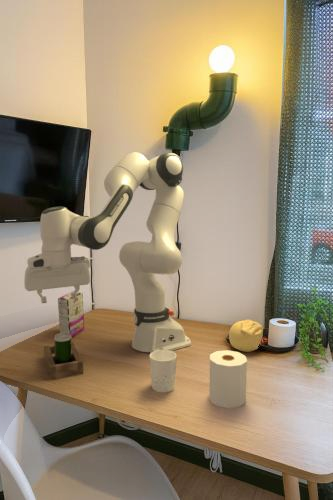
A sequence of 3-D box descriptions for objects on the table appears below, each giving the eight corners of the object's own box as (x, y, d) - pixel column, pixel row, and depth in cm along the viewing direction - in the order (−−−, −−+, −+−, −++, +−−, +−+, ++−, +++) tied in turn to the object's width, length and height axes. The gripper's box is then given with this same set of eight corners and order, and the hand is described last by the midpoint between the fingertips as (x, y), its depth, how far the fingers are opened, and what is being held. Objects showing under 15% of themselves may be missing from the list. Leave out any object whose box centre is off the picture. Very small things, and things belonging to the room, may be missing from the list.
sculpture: (253, 357, 134) (254, 328, 132) (223, 349, 141) (224, 321, 139) (266, 347, 143) (268, 319, 141) (237, 339, 150) (238, 313, 148)
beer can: (58, 376, 121) (56, 339, 119) (53, 369, 125) (51, 334, 123) (75, 371, 123) (73, 336, 122) (69, 365, 128) (68, 331, 126)
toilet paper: (221, 412, 101) (222, 368, 99) (202, 393, 110) (202, 353, 108) (253, 403, 105) (254, 361, 103) (232, 386, 114) (233, 347, 112)
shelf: (73, 352, 138) (72, 341, 138) (83, 373, 122) (82, 361, 122) (44, 357, 135) (43, 346, 134) (50, 379, 118) (50, 367, 118)
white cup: (167, 396, 108) (167, 363, 107) (144, 389, 112) (144, 357, 111) (181, 384, 115) (181, 353, 113) (159, 378, 119) (159, 347, 118)
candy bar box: (74, 328, 163) (72, 290, 160) (84, 329, 161) (83, 291, 159) (59, 337, 152) (57, 297, 150) (69, 339, 151) (68, 298, 148)
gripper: (87, 254, 128) (88, 294, 131) (22, 259, 120) (25, 302, 122) (91, 257, 123) (93, 299, 125) (23, 263, 114) (27, 307, 117)
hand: (59, 300), depth 124 cm, fingers open, 8 cm apart
